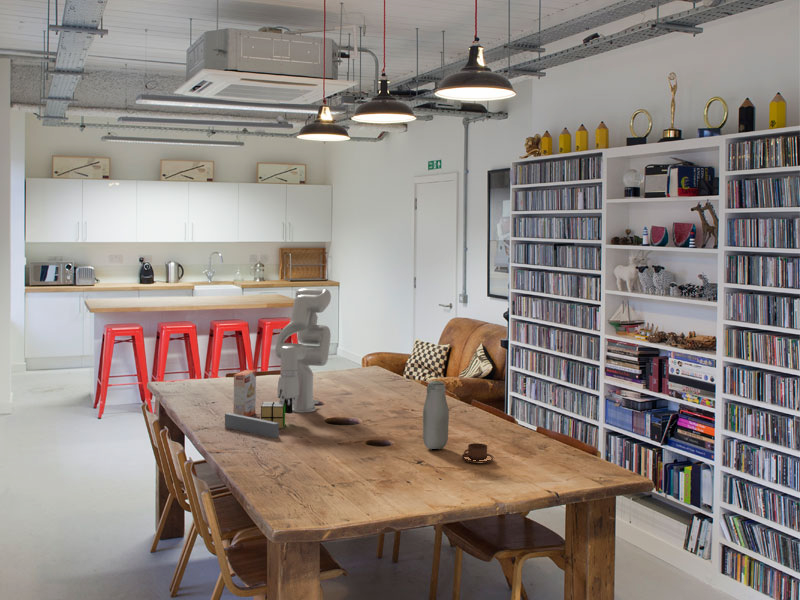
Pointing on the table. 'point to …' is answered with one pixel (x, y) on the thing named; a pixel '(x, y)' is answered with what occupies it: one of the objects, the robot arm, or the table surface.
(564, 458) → the table surface
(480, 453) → the cup and saucer
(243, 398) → the cracker box
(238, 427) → the stop board
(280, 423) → the puzzle cube
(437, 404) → the glass bottle
